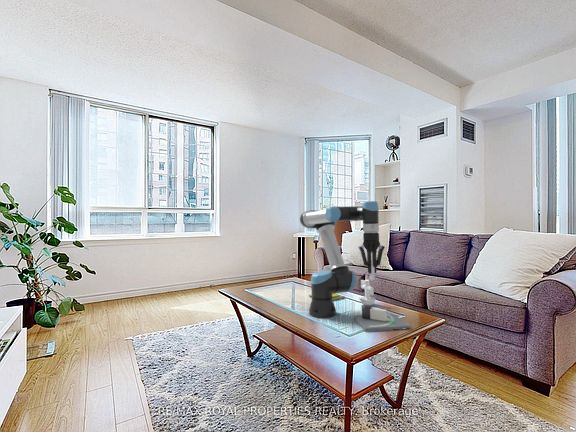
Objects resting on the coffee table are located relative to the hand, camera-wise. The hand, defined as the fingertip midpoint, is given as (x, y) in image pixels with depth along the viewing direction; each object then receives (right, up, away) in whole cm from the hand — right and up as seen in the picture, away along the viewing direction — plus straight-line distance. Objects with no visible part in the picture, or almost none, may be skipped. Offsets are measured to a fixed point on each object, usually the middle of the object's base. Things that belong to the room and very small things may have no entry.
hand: (372, 279), depth 149 cm
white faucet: (+7, -23, +36) cm, 43 cm away
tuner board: (+4, -22, +2) cm, 23 cm away
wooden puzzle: (-16, -24, +55) cm, 62 cm away
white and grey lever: (+3, -21, +4) cm, 21 cm away
